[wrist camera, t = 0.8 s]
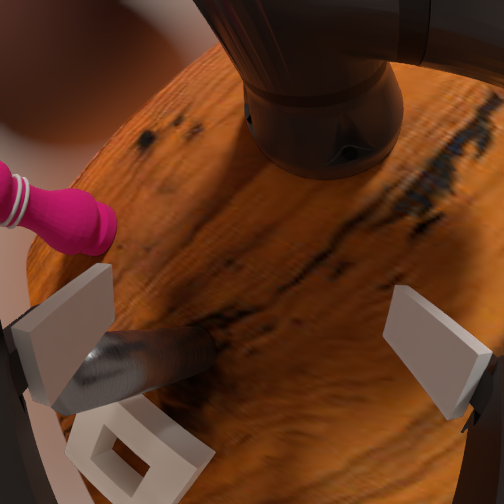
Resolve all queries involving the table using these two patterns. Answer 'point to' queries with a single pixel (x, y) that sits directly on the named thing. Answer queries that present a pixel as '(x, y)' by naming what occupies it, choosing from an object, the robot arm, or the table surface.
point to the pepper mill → (57, 215)
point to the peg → (136, 366)
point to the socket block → (136, 452)
